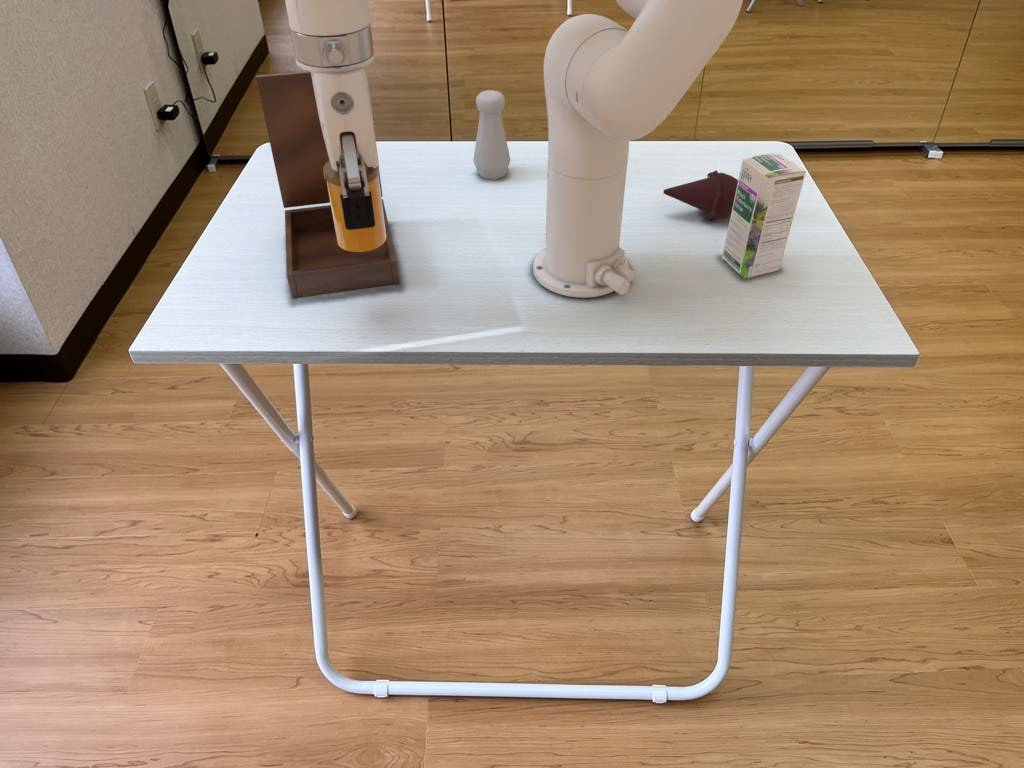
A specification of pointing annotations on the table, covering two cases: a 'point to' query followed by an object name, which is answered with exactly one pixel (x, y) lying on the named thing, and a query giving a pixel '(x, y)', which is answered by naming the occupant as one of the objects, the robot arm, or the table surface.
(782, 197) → the syrup box
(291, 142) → the chest lid
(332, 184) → the honey pot
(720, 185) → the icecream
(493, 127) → the salt shaker
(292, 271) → the chest
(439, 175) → the table surface
